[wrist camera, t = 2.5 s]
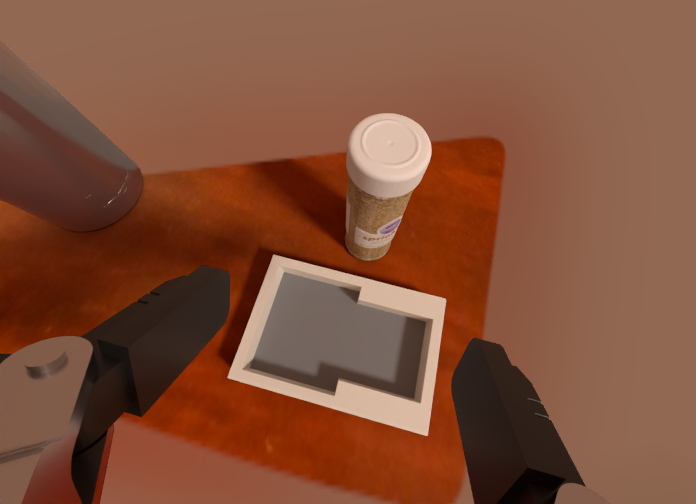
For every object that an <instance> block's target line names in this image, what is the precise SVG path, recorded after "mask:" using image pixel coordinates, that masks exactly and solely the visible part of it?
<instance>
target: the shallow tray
mask: <svg viewBox="0 0 696 504" xmlns="http://www.w3.org/2000/svg"><path fill="white" fill-rule="evenodd" d="M445 305H446V299H444V298H440V297H437V296H433V295H429V294H425V293H421V292H417V291H413V290H409V289H406V288H402V287H398V286H394V285H390V284H386V283H382V282H378V281H374V280H371V279H367V278H363V277H359V276H355V275H351V274H347V273H343V272H339V271H336V270H332V269H328V268H324V267H320V266H316V265H312V264H308V263H304V262H301V261H297V260H293V259H289V258H285V257H281V256H277V255H273V257H272V260H271V263H270V265H269V268H268V271H267V273H266V276H265V279H264V281H263V284H262V287H261V289H260V292H259V295H258V297H257V300H256V303H255V305H254V308H253V311H252V313H251V316H250V319H249V321H248V324H247V327H246V329H245V332H244V335H243V337H242V340H241V343H240V345H239V348H238V351H237V353H236V356H235V359H234V361H233V364H232V367H231V369H230V372H229V375H228V377H227V378H229V379H233V380H236V381H240V382H243V383H246V384H250V385H253V386H257V387H260V388H264V389H267V390H271V391H274V392H277V393H281V394H284V395H288V396H291V397H295V398H298V399H301V400H305V401H308V402H312V403H315V404H319V405H322V406H325V407H329V408H332V409H336V410H339V411H343V412H346V413H350V414H353V415H356V416H360V417H363V418H367V419H370V420H374V421H377V422H380V423H384V424H387V425H391V426H394V427H398V428H401V429H404V430H408V431H411V432H415V433H418V434H422V435H425V436H428V429H429V422H430V415H431V407H432V400H433V393H434V385H435V378H436V371H437V363H438V356H439V349H440V341H441V334H442V327H443V319H444V312H445Z"/></svg>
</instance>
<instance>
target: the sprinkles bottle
mask: <svg viewBox="0 0 696 504" xmlns="http://www.w3.org/2000/svg"><path fill="white" fill-rule="evenodd" d="M430 158H431V143H430V140H429V137H428V135H427V134H426V132H425V131H424V129H423V128H422V127H421V126H420V125H419V124H417V123H416V122H415V121H413V120H411V119H409V118H407V117H405V116H402V115H398V114H392V113H382V114H376V115H372V116H370V117H367V118H366V119H363V120H362V121H361V122H359V123H358V124H357V125H356V126H355V127H354V129H353V130H352V132H351V134H350V136H349V139H348V145H347V160H346V164H347V170H348V173H349V181H348V189H347V201H346V234H345V244H346V247H347V249H348V251H349V252H350V253H351V254H352V255H353V256H354V257H356V258H358V259H361V260H365V261H372V260H376V259H379V258H381V257H383V256H384V255H385V253H386V252H387V251H388V249H389V247H390V244H391V240H392V238H393V237H394V235H395V233H396V231H397V228H398V226H399V224H400V222H401V219H402V216H403V212H404V210H405V208H406V206H407V204H408V201H409V199H410V196H411V194H412V192H413V190H414V188H415V187H416V186H417V185H418V184H419V183H420V181H421V179H422V177H423V175H424V173H425V171H426V169H427V166H428V164H429V161H430Z"/></svg>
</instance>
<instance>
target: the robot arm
mask: <svg viewBox="0 0 696 504" xmlns="http://www.w3.org/2000/svg"><path fill="white" fill-rule="evenodd" d="M142 186H143V176H142V173H141V170H140V169H139V167H138V166H137V164H136V163H135V162H134V161H133V160H131V159H130V158H129V157H128V156H127V155H126V154H125V153H124V152H122V150H121V149H119V148H118V147H117V146H116V145H115V144H114V143H113V142H112V141H111V140H109V139H108V137H107V136H106V135H105V134H103V133H102V132H101V131H100V130H99V129H98V128H97V127H96V126H95V125H94V124H93V123H91V122H90V121H89V120H88V119H87V118H86V117H85V116H84V115H83V114H82V113H80V112H79V111H78V110H77V109H76V108H75V107H74V106H73V105H72V104H71V103H70V102H69V101H67V100H66V99H65V98H64V97H63V96H62V95H61V94H60V93H59V92H58V91H57V90H56V89H54V88H53V87H52V86H51V85H50V84H49V83H48V82H47V81H46V80H45V79H44V78H42V77H41V76H40V75H39V74H38V73H37V72H36V71H35V70H34V69H33V68H32V67H30V66H29V65H28V64H27V63H26V62H25V61H24V60H23V59H22V58H21V57H19V56H18V55H17V54H16V53H15V52H14V51H13V50H12V49H11V48H10V47H9V46H7V45H6V44H5V43H4V42H3V41H2V40H1V39H0V200H2V201H4V202H6V203H8V204H10V205H13V206H15V207H17V208H19V209H21V210H23V211H26V212H28V213H30V214H32V215H35V216H37V217H39V218H41V219H44V220H46V221H48V222H50V223H53V224H55V225H57V226H59V227H62V228H64V229H67V230H71V231H79V232H85V231H93V230H97V229H100V228H104V227H106V226H108V225H110V224H112V223H114V222H116V221H117V220H119V219H120V218H122V217H123V216H124V215H125V214H126V213H127V212H129V211H130V210H131V209H132V207H133V206H134V205H135V203H136V202H137V200H138V198H139V196H140V194H141V191H142ZM229 308H230V274H229V272H228V271H225V270H222V269H218V268H214V267H210V266H207V265H203V266H201V267H199V268H198V269H196V270H195V271H194V272H192V273H191V274H189V275H188V276H184V275H183V276H181V277H178V278H175V279H172V280H169V281H166V282H164V283H163V284H161V285H160V286H158V287H157V288H155V289H154V290H152V291H151V292H150V294H148V293H147V294H146V295H144V296H143V297H141V298H140V299H138V301H137V302H134V303H132V304H131V305H129V306H128V307H126V308H125V309H123V310H122V311H120V312H118V313H117V314H115V315H114V316H112V317H111V318H109V319H108V320H106V321H105V322H103V323H102V324H100V325H99V326H97V327H96V328H94V329H93V330H91V331H89V332H88V333H86V334H85V335H83V336H82V337H75V336H63V337H56V338H50V339H47V340H43V341H40V342H37V343H34V344H31V345H29V346H27V347H25V348H23V349H21V350H19V351H17V352H15V353H14V354H0V504H100V499H101V495H102V489H103V484H104V479H105V474H106V469H107V464H108V458H109V454H110V448H111V443H112V438H113V433H114V422H115V421H116V420H117V419H118V418H119V417H120V416H121V415H122V414H123V413H124V412H127V413H130V414H133V415H136V416H139V417H142V416H143V415H144V414H145V413H146V412H147V411H148V410H149V409H150V407H151V406H152V405H153V404H154V403H155V402H156V401H157V400H158V398H159V397H160V396H161V395H162V394H163V393H164V392H165V391H166V389H167V388H168V387H169V386H170V385H171V384H172V383H173V382H174V380H175V379H176V378H177V377H178V376H179V375H180V374H181V373H182V371H183V370H184V369H185V368H186V367H187V366H188V365H189V364H190V362H191V361H192V360H193V359H194V358H195V357H196V356H197V355H198V353H199V352H200V351H201V350H202V349H203V348H204V347H205V346H206V344H207V343H208V342H209V341H210V340H211V339H212V338H213V337H214V335H215V334H216V333H217V332H218V331H219V330H220V329H221V328H222V326H223V325H224V323H225V322H226V319H227V317H228V314H229ZM451 389H452V396H453V401H454V406H455V411H456V416H457V421H458V425H459V430H460V435H461V440H462V445H463V450H464V455H465V460H466V465H467V469H468V474H469V479H470V484H471V489H472V493H473V499H474V503H475V504H610V503H609V502H608V501H607V500H605V499H604V498H603V497H601V496H600V495H599V494H597V493H596V492H594V491H592V490H591V489H589V488H587V487H586V486H585V484H584V482H583V480H582V479H581V477H580V475H579V473H578V471H577V469H576V467H575V465H574V463H573V461H572V460H571V458H570V456H569V454H568V452H567V450H566V448H565V446H564V444H563V442H562V441H561V438H560V437H559V435H558V433H557V431H556V429H555V427H554V425H553V423H552V421H551V420H549V419H548V417H549V416H548V414H547V412H546V410H545V408H544V406H543V405H542V404H541V403H540V402H541V400H540V399H539V397H538V395H537V393H536V391H535V389H534V387H533V385H532V383H531V382H530V381H529V380H528V379H527V378H526V377H525V375H524V374H523V373H522V372H521V371H520V370H519V369H518V368H517V367H516V366H512V365H511V363H510V361H509V359H508V357H507V355H506V352H505V351H504V348H503V347H502V346H501V345H500V344H496V343H492V342H489V341H485V340H481V339H477V338H473V339H472V340H471V341H470V342H469V344H468V346H467V348H466V350H465V352H464V354H463V356H462V358H461V360H460V362H459V363H458V365H457V367H456V369H455V371H454V374H453V377H452V385H451Z"/></svg>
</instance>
